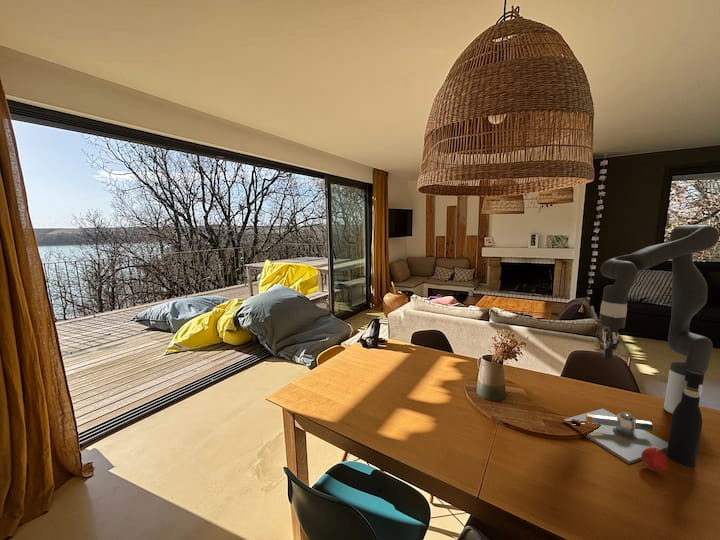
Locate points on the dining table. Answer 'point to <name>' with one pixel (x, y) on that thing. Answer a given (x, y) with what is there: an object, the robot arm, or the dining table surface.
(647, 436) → the board
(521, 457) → the dining table surface
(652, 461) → the onion
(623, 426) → the silver knobbed bar
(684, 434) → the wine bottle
